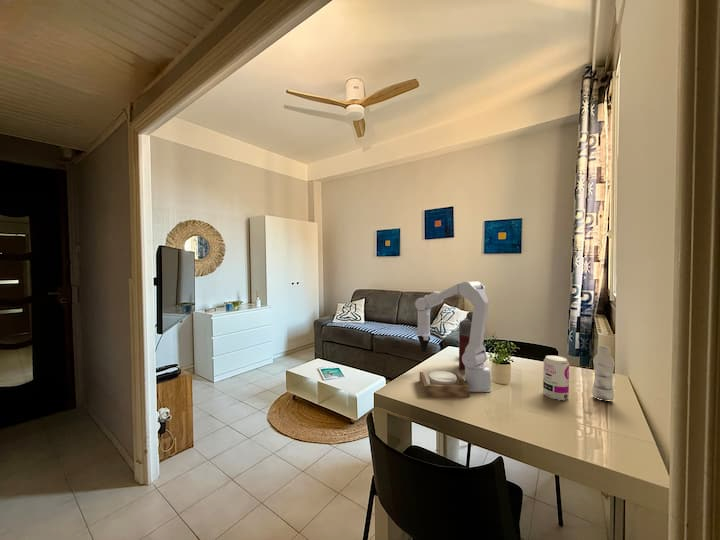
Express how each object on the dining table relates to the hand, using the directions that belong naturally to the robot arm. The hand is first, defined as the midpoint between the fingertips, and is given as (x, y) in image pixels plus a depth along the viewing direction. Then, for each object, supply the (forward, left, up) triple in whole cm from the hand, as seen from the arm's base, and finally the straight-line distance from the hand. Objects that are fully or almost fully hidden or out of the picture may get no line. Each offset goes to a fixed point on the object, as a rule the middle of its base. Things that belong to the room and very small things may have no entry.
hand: (423, 351), depth 143 cm
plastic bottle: (-63, +26, -10) cm, 69 cm away
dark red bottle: (-24, -5, -10) cm, 26 cm away
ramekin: (-5, +19, -10) cm, 22 cm away
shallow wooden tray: (-5, +19, -9) cm, 21 cm away
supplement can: (-47, +24, -10) cm, 54 cm away
